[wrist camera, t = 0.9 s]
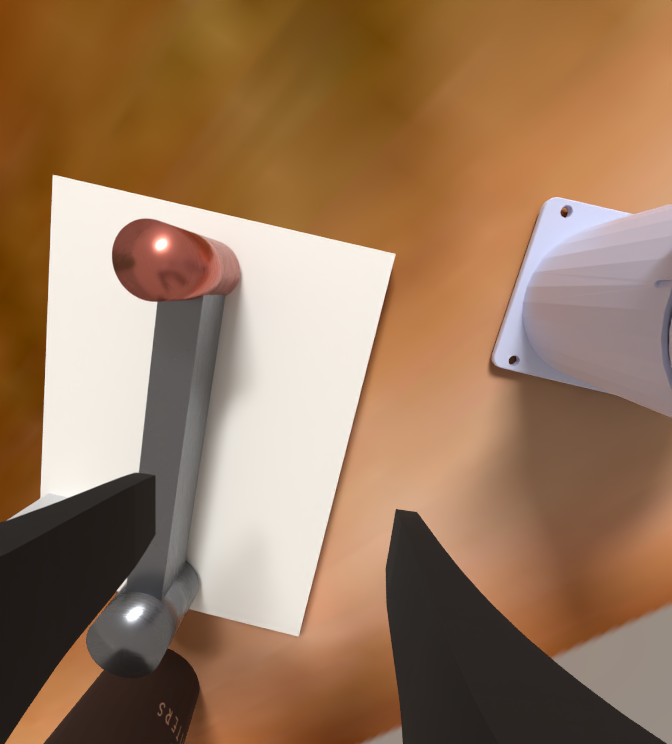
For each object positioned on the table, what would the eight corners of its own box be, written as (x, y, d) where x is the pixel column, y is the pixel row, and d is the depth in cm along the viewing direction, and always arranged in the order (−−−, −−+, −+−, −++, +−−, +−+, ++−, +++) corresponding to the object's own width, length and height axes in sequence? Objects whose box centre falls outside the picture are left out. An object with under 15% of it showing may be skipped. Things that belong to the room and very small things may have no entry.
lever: (194, 612, 21) (144, 710, 16) (135, 597, 21) (67, 690, 16) (254, 249, 16) (209, 232, 11) (177, 231, 16) (100, 206, 11)
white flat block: (392, 257, 18) (402, 245, 13) (302, 614, 23) (288, 691, 18) (78, 184, 18) (-14, 149, 14) (58, 553, 23) (-14, 615, 19)
